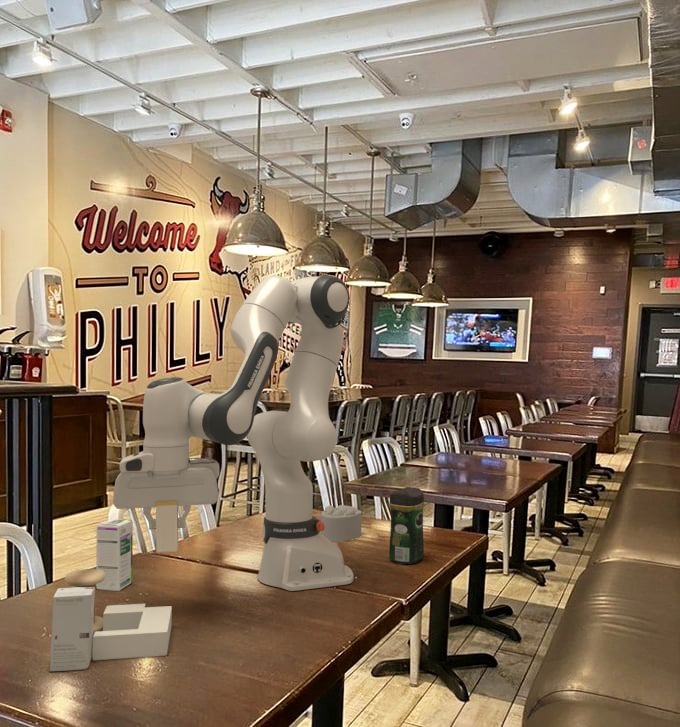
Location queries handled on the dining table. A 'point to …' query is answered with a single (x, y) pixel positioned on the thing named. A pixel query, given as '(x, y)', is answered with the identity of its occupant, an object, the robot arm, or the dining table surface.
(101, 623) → the spool
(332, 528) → the lumpy-topped squat cylinder
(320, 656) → the dining table surface
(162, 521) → the gold trimmed white carton
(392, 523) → the coffee jar
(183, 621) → the dining table surface
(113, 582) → the syrup box
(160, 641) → the notched board
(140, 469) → the robot arm
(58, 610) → the skincare box
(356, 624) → the dining table surface
